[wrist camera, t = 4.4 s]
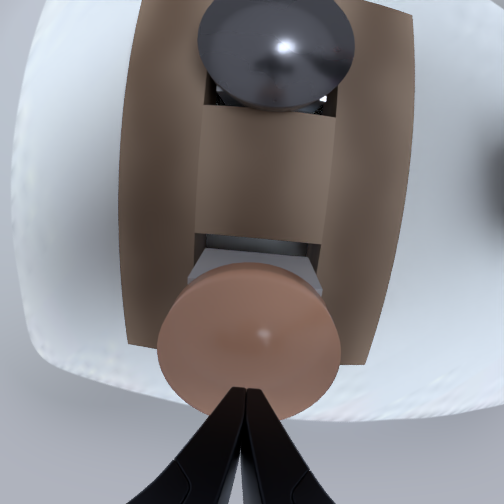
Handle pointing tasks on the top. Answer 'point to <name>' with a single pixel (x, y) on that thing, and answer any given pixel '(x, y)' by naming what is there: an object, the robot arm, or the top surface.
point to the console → (264, 169)
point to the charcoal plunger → (276, 52)
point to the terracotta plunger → (250, 332)
